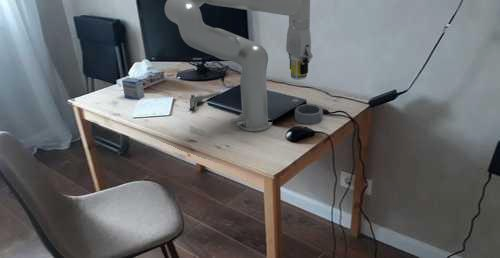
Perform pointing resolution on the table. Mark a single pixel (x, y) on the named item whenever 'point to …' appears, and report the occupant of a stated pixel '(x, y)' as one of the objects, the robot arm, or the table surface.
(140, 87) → the medicine box
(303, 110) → the socket cup
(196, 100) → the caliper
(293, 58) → the pill bottle
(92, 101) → the table surface
